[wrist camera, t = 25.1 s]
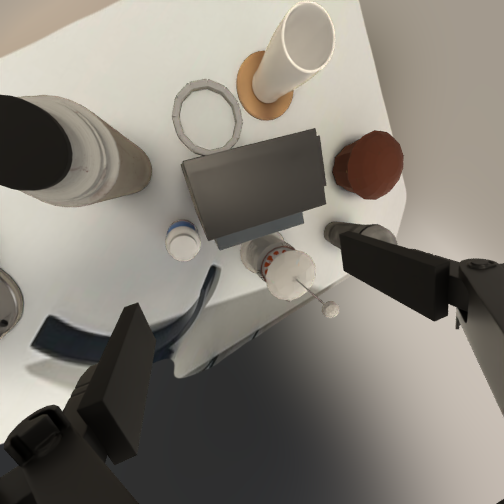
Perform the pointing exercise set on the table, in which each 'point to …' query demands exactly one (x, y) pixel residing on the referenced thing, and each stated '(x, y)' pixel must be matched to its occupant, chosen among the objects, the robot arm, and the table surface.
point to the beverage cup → (368, 230)
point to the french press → (283, 269)
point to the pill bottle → (182, 240)
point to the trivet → (248, 97)
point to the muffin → (369, 165)
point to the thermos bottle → (66, 153)
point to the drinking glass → (295, 51)
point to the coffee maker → (250, 179)
